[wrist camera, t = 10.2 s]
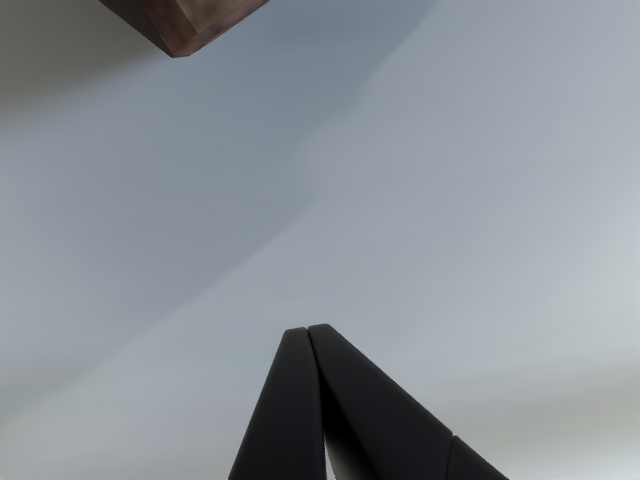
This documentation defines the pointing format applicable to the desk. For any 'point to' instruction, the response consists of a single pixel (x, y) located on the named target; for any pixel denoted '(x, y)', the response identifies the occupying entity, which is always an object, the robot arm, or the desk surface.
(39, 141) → the desk surface
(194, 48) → the diary
